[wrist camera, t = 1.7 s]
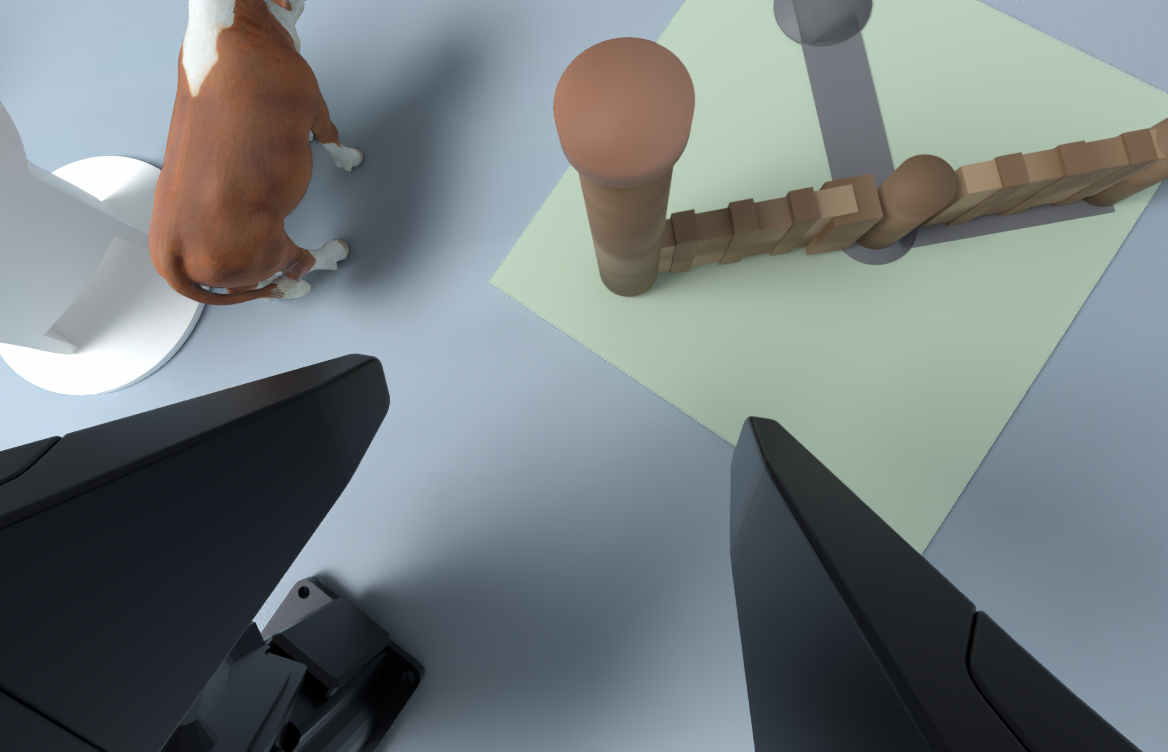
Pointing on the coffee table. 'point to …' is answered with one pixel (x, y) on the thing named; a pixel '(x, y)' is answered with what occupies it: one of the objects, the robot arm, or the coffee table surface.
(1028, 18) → the coffee table surface
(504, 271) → the card
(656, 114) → the fence swing panel
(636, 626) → the coffee table surface
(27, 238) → the white rounded piece
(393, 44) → the coffee table surface
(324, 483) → the robot arm
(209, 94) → the bull figurine
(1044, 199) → the fence fixed panel
